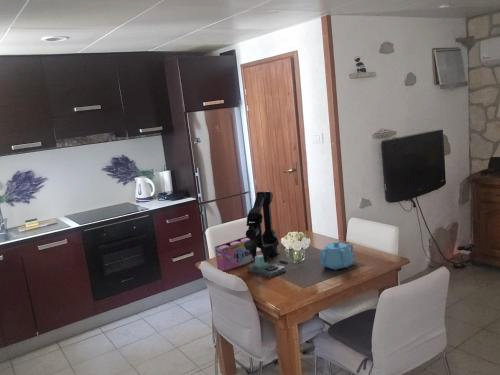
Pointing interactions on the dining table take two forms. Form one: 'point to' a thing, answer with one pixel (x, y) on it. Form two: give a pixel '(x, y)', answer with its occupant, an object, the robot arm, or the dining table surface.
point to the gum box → (232, 254)
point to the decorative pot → (337, 255)
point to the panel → (267, 270)
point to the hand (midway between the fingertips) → (260, 260)
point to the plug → (259, 261)
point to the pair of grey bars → (281, 261)
